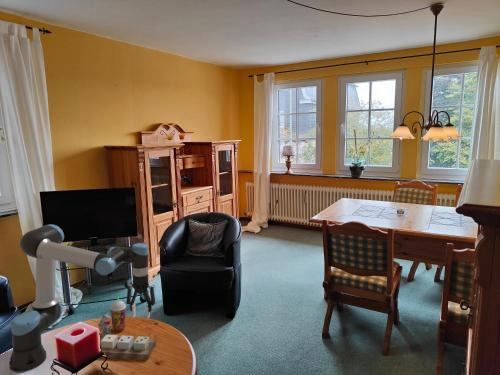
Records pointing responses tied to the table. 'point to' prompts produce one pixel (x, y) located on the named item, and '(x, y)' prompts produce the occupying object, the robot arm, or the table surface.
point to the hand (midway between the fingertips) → (141, 317)
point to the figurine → (105, 325)
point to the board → (130, 351)
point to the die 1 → (109, 341)
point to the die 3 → (141, 343)
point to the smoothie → (118, 315)
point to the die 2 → (125, 342)
